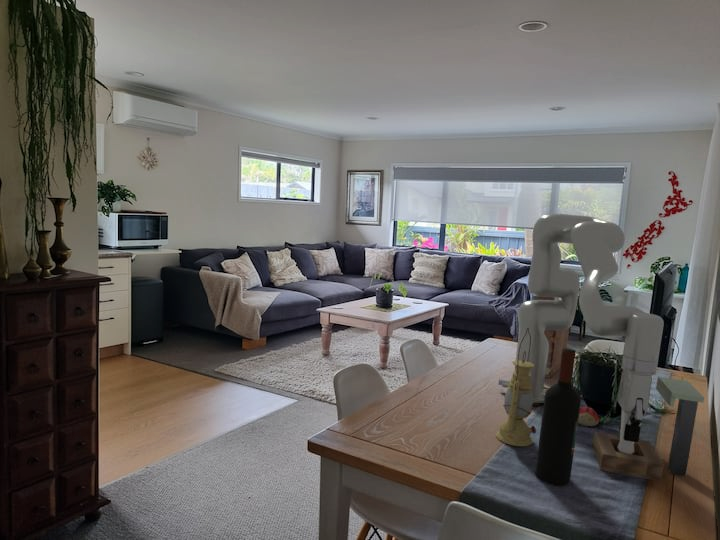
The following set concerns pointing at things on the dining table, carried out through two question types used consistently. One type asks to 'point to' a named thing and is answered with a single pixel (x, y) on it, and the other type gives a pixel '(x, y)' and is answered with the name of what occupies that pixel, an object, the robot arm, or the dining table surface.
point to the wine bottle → (559, 426)
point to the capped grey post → (680, 419)
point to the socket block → (627, 457)
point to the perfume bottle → (623, 444)
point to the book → (554, 345)
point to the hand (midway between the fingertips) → (628, 435)
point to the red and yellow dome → (587, 417)
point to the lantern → (518, 405)
